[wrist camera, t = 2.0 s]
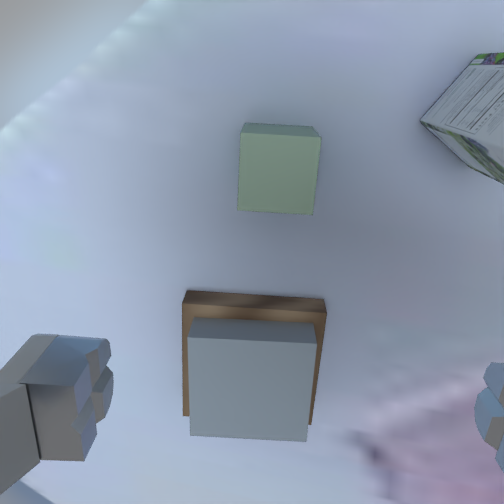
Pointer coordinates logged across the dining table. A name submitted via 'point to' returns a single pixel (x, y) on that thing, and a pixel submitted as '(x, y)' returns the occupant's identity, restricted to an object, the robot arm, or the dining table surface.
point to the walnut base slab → (251, 309)
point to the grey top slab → (250, 378)
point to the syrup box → (474, 116)
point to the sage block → (278, 168)
